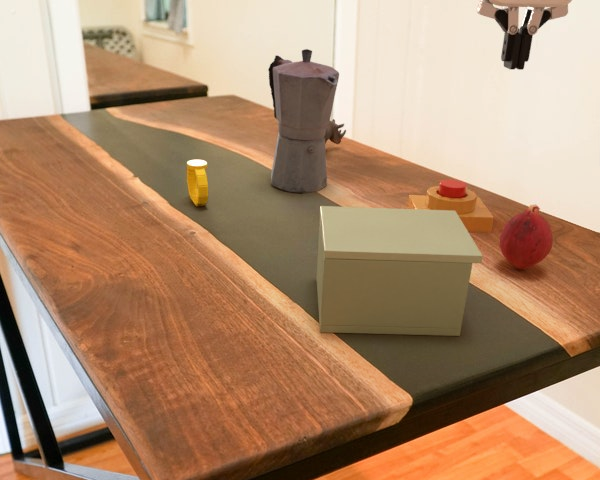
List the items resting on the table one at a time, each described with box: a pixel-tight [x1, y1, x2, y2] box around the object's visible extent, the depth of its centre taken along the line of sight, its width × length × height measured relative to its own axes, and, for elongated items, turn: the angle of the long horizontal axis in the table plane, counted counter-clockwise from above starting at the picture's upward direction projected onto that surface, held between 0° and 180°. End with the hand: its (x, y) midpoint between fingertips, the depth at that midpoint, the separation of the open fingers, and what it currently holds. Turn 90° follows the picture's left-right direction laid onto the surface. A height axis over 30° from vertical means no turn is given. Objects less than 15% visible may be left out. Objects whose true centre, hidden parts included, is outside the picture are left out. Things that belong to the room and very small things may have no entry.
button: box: [438, 179, 468, 199], centre depth 89 cm, size 4×4×2 cm
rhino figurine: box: [324, 118, 347, 145], centre depth 117 cm, size 4×14×6 cm, turn 129°
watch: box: [186, 159, 209, 207], centre depth 92 cm, size 6×3×6 cm, turn 24°
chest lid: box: [319, 205, 483, 264], centre depth 65 cm, size 14×12×1 cm
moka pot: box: [267, 48, 340, 194], centre depth 98 cm, size 10×15×20 cm, turn 42°
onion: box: [499, 204, 554, 271], centre depth 76 cm, size 6×6×8 cm
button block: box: [407, 185, 495, 233], centre depth 90 cm, size 10×8×4 cm
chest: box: [316, 217, 473, 337], centre depth 67 cm, size 14×12×8 cm
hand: (513, 67), depth 82 cm, fingers closed
